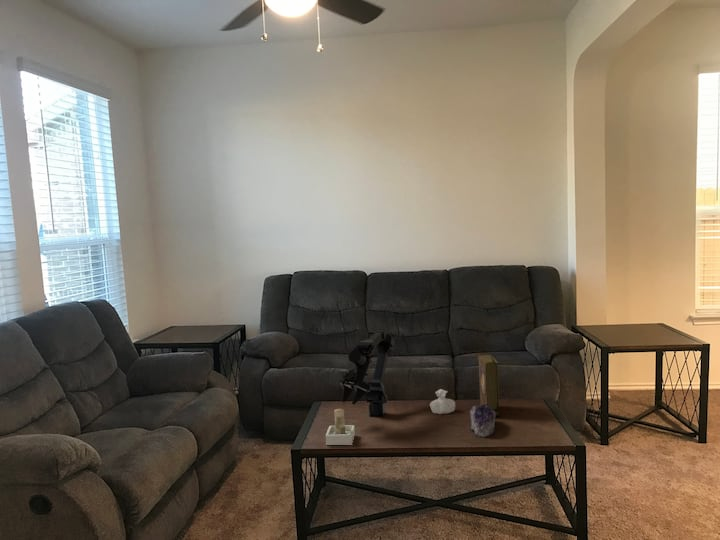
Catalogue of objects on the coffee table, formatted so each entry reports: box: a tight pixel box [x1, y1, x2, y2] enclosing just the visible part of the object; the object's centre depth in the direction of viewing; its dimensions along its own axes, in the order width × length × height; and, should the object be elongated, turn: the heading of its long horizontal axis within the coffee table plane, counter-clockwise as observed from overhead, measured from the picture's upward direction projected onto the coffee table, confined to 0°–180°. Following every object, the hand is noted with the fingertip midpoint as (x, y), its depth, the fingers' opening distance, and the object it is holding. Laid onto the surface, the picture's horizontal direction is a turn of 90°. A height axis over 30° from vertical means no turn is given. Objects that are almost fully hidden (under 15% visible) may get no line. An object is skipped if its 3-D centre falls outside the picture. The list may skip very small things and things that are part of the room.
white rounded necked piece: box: [429, 388, 456, 415], centre depth 251 cm, size 12×8×11 cm
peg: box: [333, 408, 346, 435], centre depth 222 cm, size 4×4×13 cm
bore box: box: [325, 424, 356, 446], centre depth 223 cm, size 11×11×4 cm
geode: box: [469, 404, 497, 439], centre depth 227 cm, size 20×12×10 cm, turn 169°
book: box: [478, 353, 501, 417], centre depth 247 cm, size 16×6×25 cm, turn 179°
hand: (348, 403), depth 231 cm, fingers open, 9 cm apart
